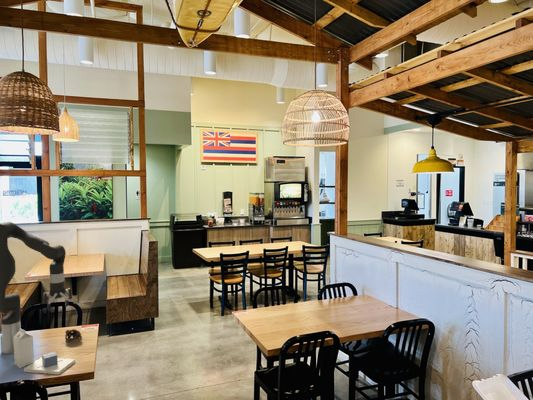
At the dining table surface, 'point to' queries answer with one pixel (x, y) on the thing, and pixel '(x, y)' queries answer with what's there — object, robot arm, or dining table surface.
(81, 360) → the dining table surface
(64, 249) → the robot arm
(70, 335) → the dark brown rounded lump
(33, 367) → the shaft plate
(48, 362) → the blue-grey block
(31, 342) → the milk carton
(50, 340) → the dining table surface
